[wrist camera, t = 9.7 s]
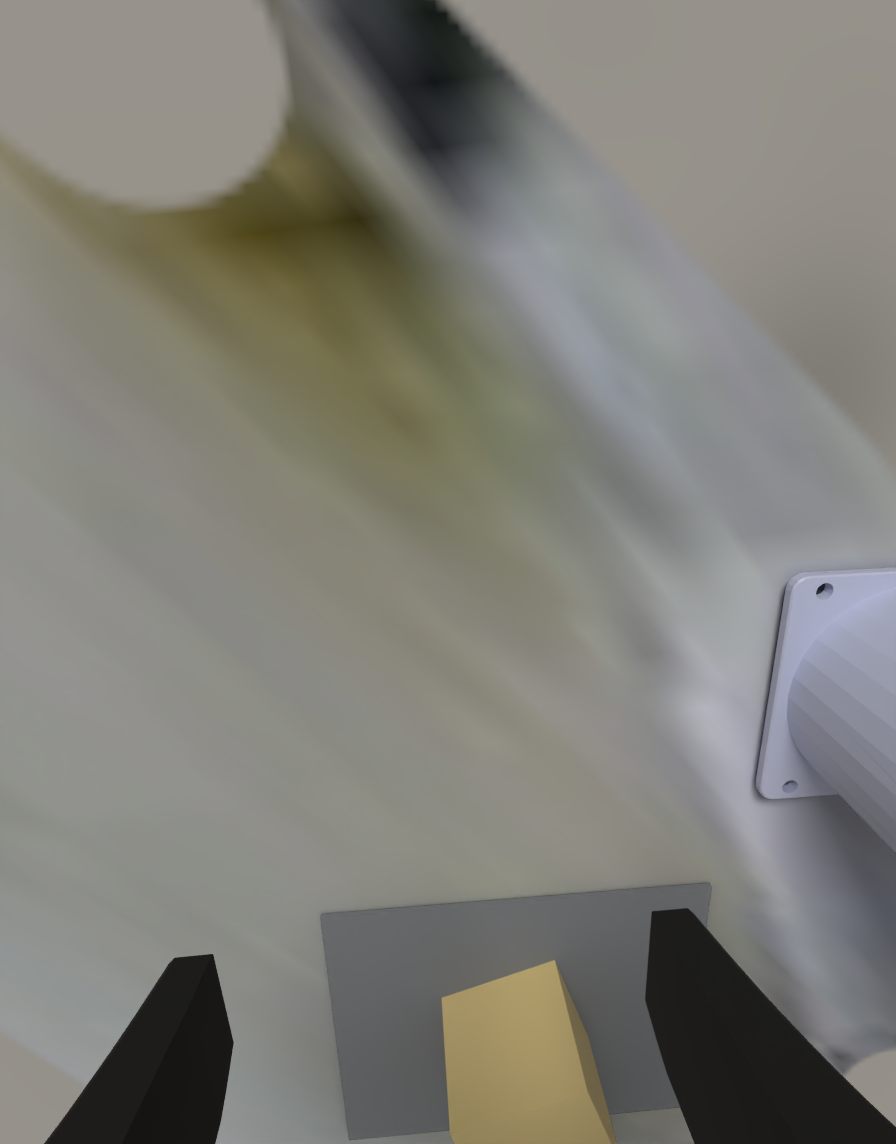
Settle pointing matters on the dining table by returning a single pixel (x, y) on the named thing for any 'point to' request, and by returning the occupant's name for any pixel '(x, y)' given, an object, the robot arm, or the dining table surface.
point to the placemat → (477, 956)
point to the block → (521, 1064)
